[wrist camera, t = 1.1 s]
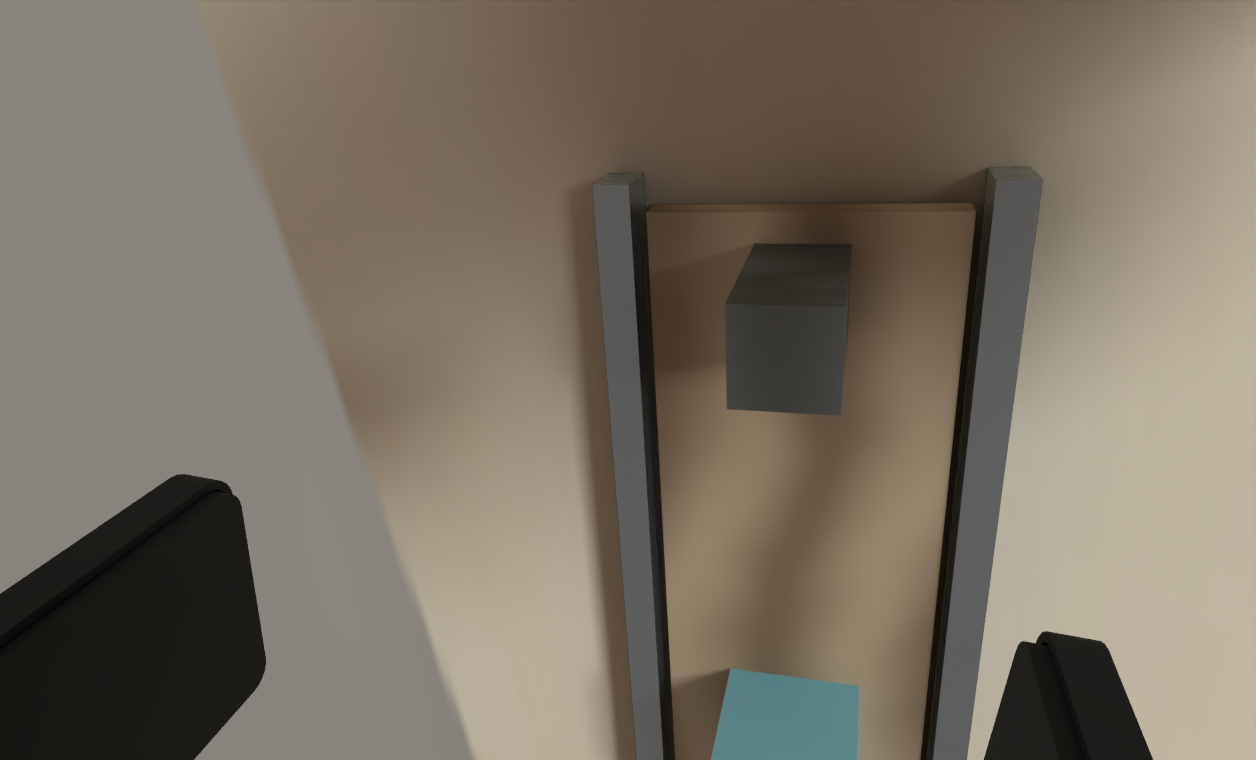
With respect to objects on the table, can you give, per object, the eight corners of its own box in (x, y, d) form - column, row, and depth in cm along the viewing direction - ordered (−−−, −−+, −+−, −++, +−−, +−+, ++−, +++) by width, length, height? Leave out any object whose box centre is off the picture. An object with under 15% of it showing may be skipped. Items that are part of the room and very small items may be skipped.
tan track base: (971, 202, 26) (1002, 269, 20) (905, 873, 38) (910, 1049, 32) (654, 204, 29) (591, 264, 22) (685, 831, 41) (650, 986, 34)
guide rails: (1031, 167, 26) (1042, 179, 24) (940, 889, 38) (944, 933, 37) (609, 173, 29) (592, 185, 27) (655, 834, 42) (645, 872, 40)
